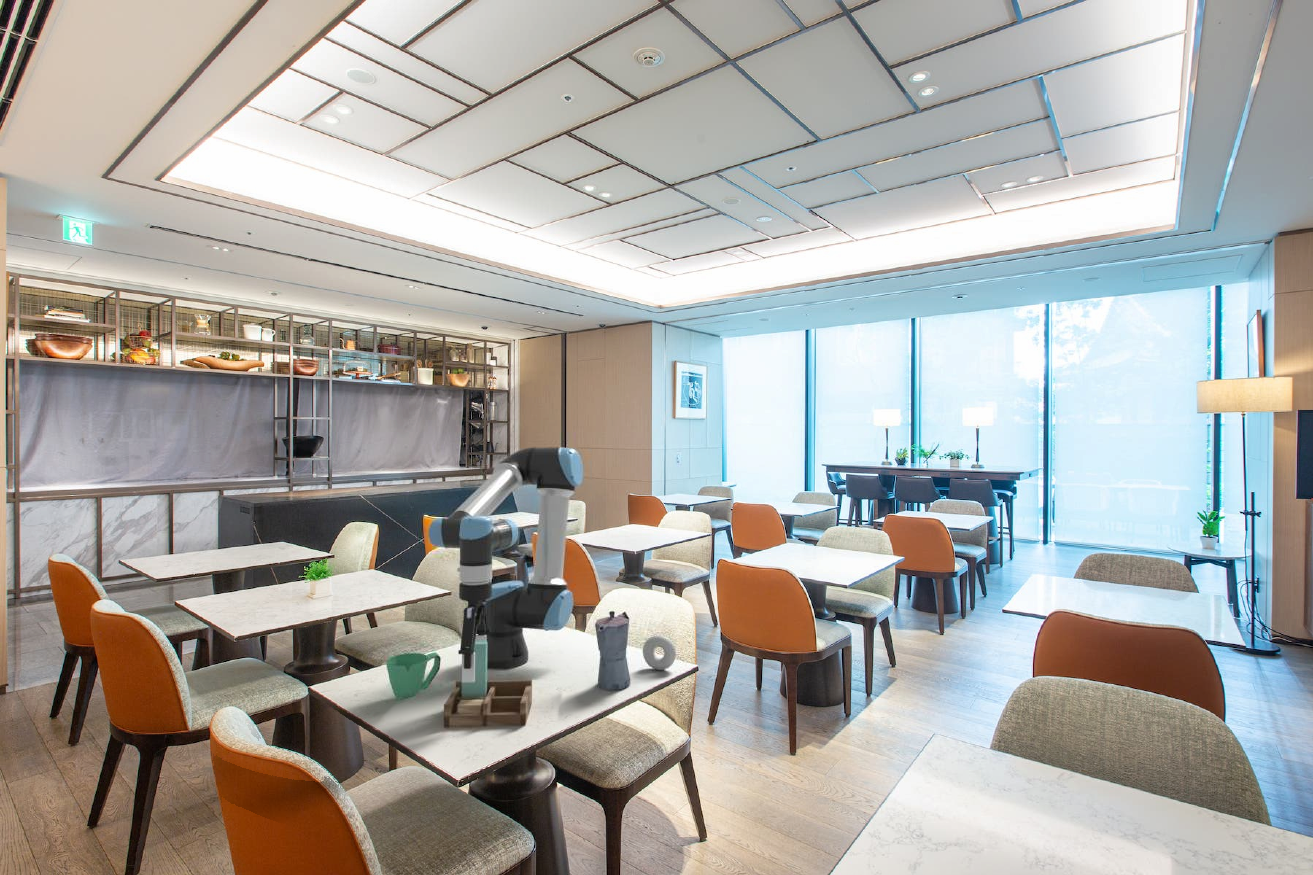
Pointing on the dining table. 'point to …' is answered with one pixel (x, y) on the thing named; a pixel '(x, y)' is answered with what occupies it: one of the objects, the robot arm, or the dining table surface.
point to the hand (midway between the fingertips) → (474, 671)
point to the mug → (410, 673)
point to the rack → (492, 705)
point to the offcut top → (470, 706)
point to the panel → (478, 673)
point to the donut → (651, 657)
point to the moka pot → (613, 651)
